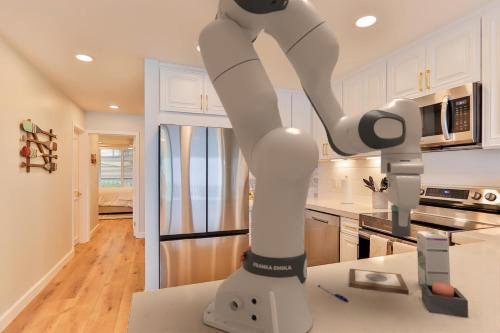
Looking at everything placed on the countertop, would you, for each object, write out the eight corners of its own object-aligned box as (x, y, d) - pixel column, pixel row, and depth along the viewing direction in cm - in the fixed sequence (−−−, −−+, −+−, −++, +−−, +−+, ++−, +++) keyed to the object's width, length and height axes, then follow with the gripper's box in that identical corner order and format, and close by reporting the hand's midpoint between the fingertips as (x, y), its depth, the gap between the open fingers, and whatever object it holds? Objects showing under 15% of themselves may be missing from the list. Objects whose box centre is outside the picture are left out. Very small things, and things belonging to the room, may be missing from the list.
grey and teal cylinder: (392, 236, 66) (392, 206, 66) (390, 232, 70) (390, 204, 70) (412, 237, 64) (412, 207, 64) (409, 234, 68) (409, 205, 68)
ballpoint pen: (349, 302, 66) (349, 298, 66) (346, 303, 65) (346, 299, 65) (319, 286, 75) (319, 283, 75) (316, 287, 74) (316, 283, 74)
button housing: (429, 311, 61) (429, 295, 61) (421, 298, 67) (421, 283, 67) (468, 317, 58) (467, 300, 58) (456, 302, 65) (455, 287, 65)
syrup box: (451, 294, 70) (450, 235, 70) (425, 292, 71) (424, 235, 71) (440, 285, 75) (439, 231, 76) (416, 283, 77) (416, 230, 77)
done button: (435, 297, 62) (435, 287, 62) (430, 290, 65) (430, 281, 66) (456, 300, 60) (456, 290, 60) (450, 293, 64) (450, 283, 64)
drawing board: (349, 286, 74) (349, 281, 74) (349, 271, 86) (349, 267, 86) (408, 294, 70) (408, 289, 70) (400, 277, 81) (400, 273, 81)
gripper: (381, 168, 78) (381, 217, 78) (392, 165, 59) (392, 230, 59) (407, 168, 76) (407, 218, 76) (426, 165, 57) (426, 233, 56)
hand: (400, 224), depth 67 cm, fingers closed on grey and teal cylinder, 4 cm apart
